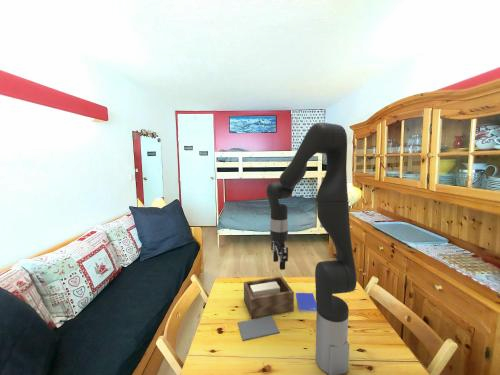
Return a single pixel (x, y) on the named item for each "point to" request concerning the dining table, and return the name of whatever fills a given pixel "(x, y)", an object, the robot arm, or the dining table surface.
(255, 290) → the block
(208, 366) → the dining table surface
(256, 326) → the mat
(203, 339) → the dining table surface
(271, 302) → the wooden box
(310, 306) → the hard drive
